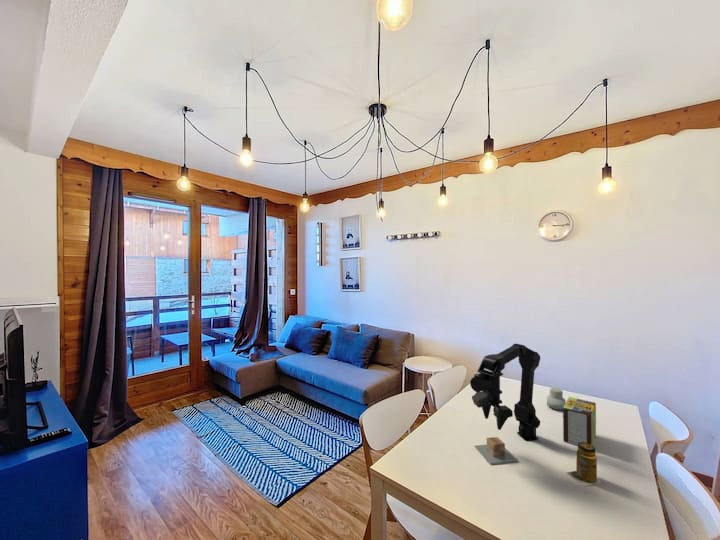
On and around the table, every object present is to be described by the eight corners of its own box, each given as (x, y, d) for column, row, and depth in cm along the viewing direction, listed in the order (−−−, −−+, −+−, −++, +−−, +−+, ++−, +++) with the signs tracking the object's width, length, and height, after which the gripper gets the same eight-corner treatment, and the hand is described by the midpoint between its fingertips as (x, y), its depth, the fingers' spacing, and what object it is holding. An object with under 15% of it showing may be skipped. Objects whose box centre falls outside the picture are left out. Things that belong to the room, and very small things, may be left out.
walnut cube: (497, 448, 130) (497, 436, 130) (504, 455, 125) (504, 443, 125) (486, 449, 130) (486, 437, 129) (493, 456, 125) (493, 444, 125)
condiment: (603, 482, 110) (603, 449, 110) (584, 486, 108) (584, 453, 108) (584, 469, 117) (584, 438, 117) (566, 473, 115) (565, 441, 115)
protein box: (596, 436, 140) (596, 402, 140) (591, 451, 129) (591, 414, 129) (568, 428, 147) (568, 396, 147) (562, 441, 136) (562, 407, 136)
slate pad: (500, 444, 134) (500, 443, 134) (518, 461, 122) (518, 460, 122) (474, 446, 132) (474, 445, 132) (490, 464, 121) (490, 463, 121)
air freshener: (548, 402, 176) (548, 384, 175) (565, 406, 171) (565, 388, 171) (546, 409, 167) (546, 391, 167) (564, 413, 162) (564, 394, 162)
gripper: (463, 380, 137) (463, 414, 137) (487, 397, 118) (487, 437, 118) (486, 378, 138) (487, 412, 138) (513, 395, 120) (513, 435, 120)
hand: (492, 423), depth 129 cm, fingers open, 9 cm apart
